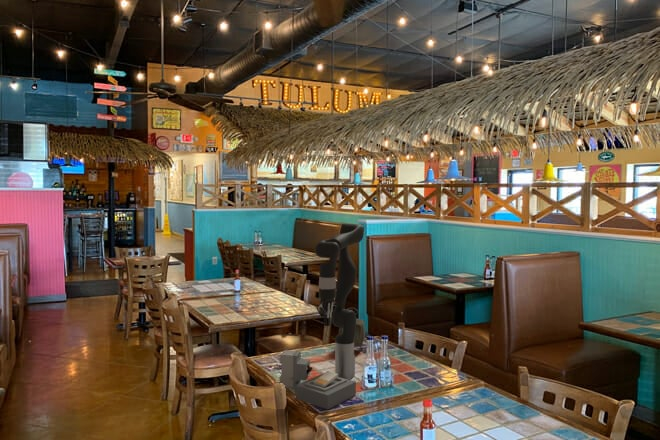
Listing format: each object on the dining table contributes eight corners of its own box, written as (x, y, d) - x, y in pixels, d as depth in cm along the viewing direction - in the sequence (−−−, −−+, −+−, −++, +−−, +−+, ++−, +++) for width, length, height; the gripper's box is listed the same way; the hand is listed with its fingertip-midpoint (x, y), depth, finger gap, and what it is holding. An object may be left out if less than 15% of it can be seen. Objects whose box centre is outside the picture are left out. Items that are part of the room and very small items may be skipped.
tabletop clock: (365, 349, 294) (365, 306, 293) (363, 353, 285) (363, 310, 284) (340, 347, 297) (340, 305, 296) (338, 352, 288) (338, 308, 287)
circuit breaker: (309, 388, 232) (309, 356, 231) (279, 386, 234) (279, 354, 234) (313, 383, 239) (313, 351, 238) (284, 380, 242) (284, 349, 241)
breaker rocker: (327, 373, 228) (327, 370, 227) (338, 376, 224) (338, 373, 224) (313, 384, 220) (313, 381, 220) (324, 387, 216) (324, 384, 216)
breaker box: (324, 385, 235) (324, 371, 235) (355, 395, 224) (355, 379, 224) (295, 398, 220) (295, 383, 219) (328, 409, 209) (328, 393, 208)
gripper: (329, 284, 230) (329, 321, 231) (311, 288, 220) (311, 327, 220) (343, 285, 225) (343, 324, 226) (324, 289, 215) (324, 330, 216)
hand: (327, 325), depth 223 cm, fingers closed
